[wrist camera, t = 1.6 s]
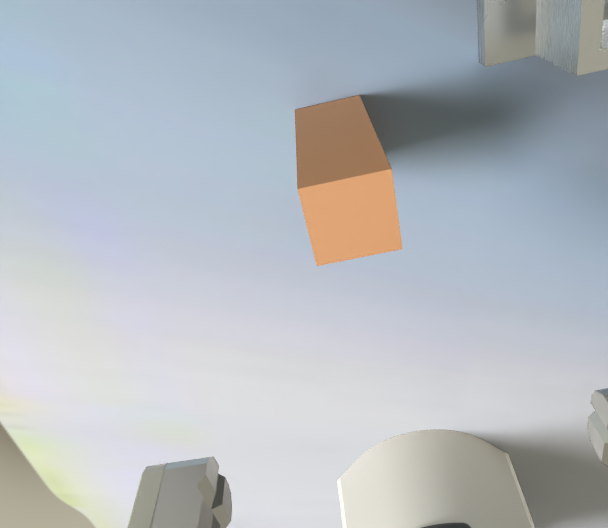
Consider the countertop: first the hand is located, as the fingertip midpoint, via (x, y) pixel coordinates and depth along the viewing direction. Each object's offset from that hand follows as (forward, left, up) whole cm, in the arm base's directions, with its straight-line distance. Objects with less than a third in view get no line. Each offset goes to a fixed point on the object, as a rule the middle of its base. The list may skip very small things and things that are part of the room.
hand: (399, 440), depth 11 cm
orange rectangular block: (0, 0, -20) cm, 20 cm away
